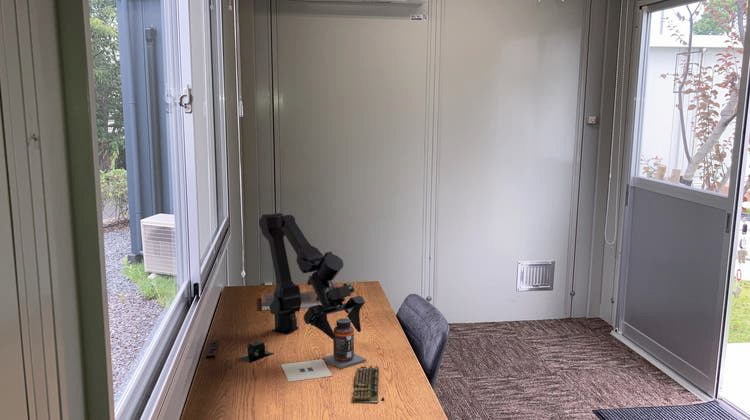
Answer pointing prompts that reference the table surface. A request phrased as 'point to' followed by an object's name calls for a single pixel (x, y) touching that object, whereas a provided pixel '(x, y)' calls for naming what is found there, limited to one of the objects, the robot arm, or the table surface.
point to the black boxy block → (255, 352)
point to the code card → (306, 370)
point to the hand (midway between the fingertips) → (347, 334)
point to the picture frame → (306, 302)
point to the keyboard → (366, 385)
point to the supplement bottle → (343, 340)
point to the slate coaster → (344, 364)
